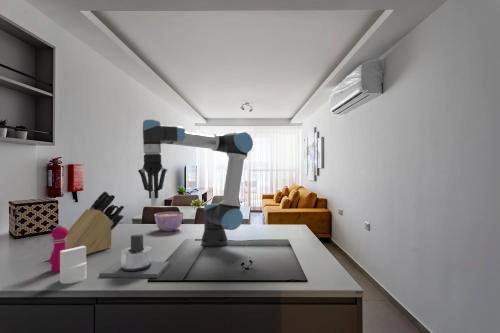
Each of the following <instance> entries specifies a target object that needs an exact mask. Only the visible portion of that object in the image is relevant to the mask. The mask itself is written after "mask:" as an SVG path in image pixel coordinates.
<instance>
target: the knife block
mask: <svg viewBox="0 0 500 333" xmlns="http://www.w3.org/2000/svg"><path fill="white" fill-rule="evenodd" d="M115 197H116V196H115V195H113V194H111V195H110V194H109V192H107V190H105V191H104V192H102V193H101V194H100V195H99V196H98V197H97V199H96V200H94V202H93V204H92V205H91V206H90V207H89V209H88V208H86V209H85V210H84V211H83V213H82V214H81V215H80V216H79V218H78V219H77V220H76V221H75V222H74V223H73V224H72V226H71V227H70V228H69V229H68V235H67V236H66V238H67V239H66V240H67V241H66V242H65V246H66V250H67V249H71V248H75V247H80V246H86V256H87V255H90V254H92V253H96V252H100V251H103V250H108V249H110V248H112V231H113V230H114V229H115V227H116V226H117V225H118V224H119V223H120V222H121V221H122V219H124V215H122V214H121V212H122V210H123V209H125V206H124V205H121V206H118V205H114V204H112V202H113V201H114V200H115ZM115 209H116V210H115ZM53 250H54V248H52V250H51V251H50V253H49V254H51V255H52V253H53Z"/></svg>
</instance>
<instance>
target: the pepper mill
mask: <svg viewBox="0 0 500 333" xmlns="http://www.w3.org/2000/svg"><path fill="white" fill-rule="evenodd" d="M68 231H69V229H67V228H66V227H63V224H62V223H58V224H57V227H55V228H54V229H52V230H51V233H50V234H51V238H52V244H53V249H54V250H53V249H52V250H53V253H52V254H51V255H50V257H49V263H50V265H51V267H50V271H51V273H60V251H62V250H66V246H65V242H66V241H67V240H66V239H67V238H66V236H67V235H68Z"/></svg>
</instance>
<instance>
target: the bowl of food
mask: <svg viewBox="0 0 500 333" xmlns="http://www.w3.org/2000/svg"><path fill="white" fill-rule="evenodd" d="M153 217H154V220H155V224H156V227H157V228H158V229H159V230H161V231H162V232H167V233H169V232H174V231H176V230H177V229H178V228H180V227H181V225H182V221H183V217H184V212H181V211H163V212H158V213H154V216H153Z"/></svg>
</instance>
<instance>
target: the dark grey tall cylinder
mask: <svg viewBox="0 0 500 333" xmlns="http://www.w3.org/2000/svg"><path fill="white" fill-rule="evenodd" d="M143 246H144V234H140V233H137V234H133V235H130V247H131V252H138V251H142V250H143Z"/></svg>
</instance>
